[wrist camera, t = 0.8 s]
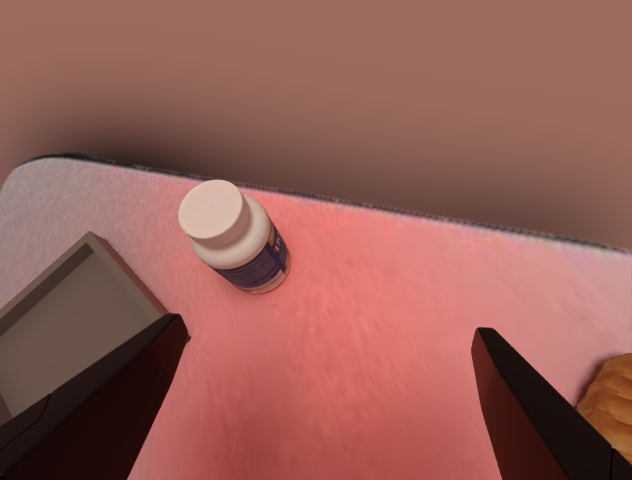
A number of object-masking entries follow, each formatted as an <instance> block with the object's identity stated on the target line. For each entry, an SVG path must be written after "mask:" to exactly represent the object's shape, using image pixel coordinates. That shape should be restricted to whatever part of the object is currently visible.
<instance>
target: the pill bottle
mask: <svg viewBox="0 0 632 480" xmlns="http://www.w3.org/2000/svg"><path fill="white" fill-rule="evenodd" d="M178 219H179V223H180V226H181V228H182V229H183V230H184V232H185V233H186V234H187V235H188V236H190V241H191V245H192V248H193V250H194V252H195V253H196V255H197V256H198V257H199V258H200V259H201V260H202V261H203V262H204V263H205V264H207V265H208V266H209V267H211V268H212V269H214V270H215V271H216V272H217V273H219V274H220V275H222V276H223V277H224V278H226V279H227V280H228V281H230V282H231V283H232V284H233V285H235V286H236V287H238V288H239V289H241V290H243V291H244V292H247V293H251V294H261V293H265V292H268V291H270V290H272V289H274V288H276V287H277V286H278V285H279V284H280V283H281V282H282V281H283V280H284V279H285V277H286V276H287V274H288V272H289V268H290V253H289V250H288V248H287V246H286V244H285V242H284V241H283V239H282V237H281V236H280V234H279V232H278V230H277V229H276V227H275V225H274V224H273V222H272V221H271V219H270V217H269V216H268V214H267V212H266V210H265V209H264V208H263V206H262V205H261V204H260V203H259V202H258V201H257V200H255V199H254V198H252V197H250V196H248V195H244V194H242V193H241V192H240V191H239V189H238V188H237V187H236V186H235V185H233V184H232V183H230V182H227V181H224V180H211V181H207V182H204V183H201V184H199V185H198V186H196V187H195V188H193V189H192V190H191V191H190V192H189V193H188V194H187V195H186V196H185V197H184V199H183V201H182V202H181V205H180V207H179V212H178Z"/></svg>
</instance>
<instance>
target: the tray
mask: <svg viewBox="0 0 632 480" xmlns="http://www.w3.org/2000/svg"><path fill="white" fill-rule="evenodd" d="M167 313H169V312H168V311H167V310H166V308H165V307H164V306H163V305H162V304H161V303H160V302H159V300H158V299H157V298H156V297H155V296H154V295H153V294H152V292H151V291H150V290H149V289H148V288H147V287H146V286H145V284H144V283H143V282H142V281H141V280H140V279H139V278H138V276H137V275H136V274H135V273H134V272H133V271H132V270H131V268H130V267H129V266H128V265H127V264H126V263H125V262H124V260H123V259H122V258H121V257H120V256H119V255H118V254H117V252H116V251H115V250H114V249H113V248H112V247H111V246H110V244H109V243H108V242H107V241H106V240H105V239H103V238H101V237H99V236H98V235H96V234H94V233H92V232H90V231H89V232H88V233H86V234H85V235H84V236H83V237H82V238H81V239H80V240H78V241H77V242H76V243H75V244H74V245H73V246H72V247H71V248H69V249H68V250H67V251H66V252H65V253H64V254H63V255H62V256H60V257H59V258H58V259H57V260H56V261H55V262H54V263H52V264H51V265H50V266H49V267H48V268H47V269H46V270H45V271H43V272H42V273H41V274H40V275H39V276H38V277H37V278H36V279H34V280H33V281H32V282H31V283H30V284H29V285H28V286H26V287H25V288H24V289H23V290H22V291H21V292H20V293H19V294H17V295H16V296H15V297H14V298H13V299H12V300H11V301H10V302H8V303H7V304H6V305H5V306H4V307H3V308H2V309H0V426H1V425H2V424H4V423H5V422H7V421H9V420H10V419H12V418H13V417H15V416H16V415H18V414H19V413H21V412H22V411H24V410H25V409H27V408H28V407H30V406H31V405H33V404H35V403H36V402H37V401H39V400H40V399H42V398H43V397H45V396H46V395H48V394H49V393H52V392H53V391H54V390H55V389H57V388H58V387H60V386H61V385H62V384H64V383H65V382H67V381H68V380H70V379H71V378H73V377H74V376H76V375H77V374H79V373H80V372H81V371H83V370H84V369H86V368H87V367H89V366H90V365H92V364H93V363H95V362H96V361H98V360H99V359H101V358H102V357H103V356H105V355H106V354H108V353H109V352H111V351H112V350H114V349H115V348H117V347H118V346H120V345H121V344H123V343H124V342H125V341H127V340H128V339H130V338H131V337H133V336H134V335H136V334H137V333H139V332H140V331H142V330H143V329H144V328H146V327H147V326H149V325H150V324H152V323H153V322H155V321H156V320H158V319H159V318H161V317H162V316H163V315H165V314H167ZM190 339H191V337H190V336H189V335H188V338H187V341H186V343H187V342H188V341H189V340H190Z"/></svg>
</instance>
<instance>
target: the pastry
mask: <svg viewBox="0 0 632 480" xmlns="http://www.w3.org/2000/svg"><path fill="white" fill-rule="evenodd" d="M576 410H577V411H578V412H579V413H580V414H581V415H582V416H583V417H584V418H585V419H586V420H587V421H588V422H589V423H590V424H591V425H592V426H593V427H594V428H595V429H596V430H597V431H598V432H599V433H600V434H601V435H602V436H603V437H604V438H605V439H606V440H607V441H608V442H609V443H610V444H611V445H612V448H615V449H616V450H617V451H619V452H620V453H621V454H622V455H623V456H624V457H625V458H626V459H627V460H628V461H629V462H630V463H631V464H632V353H628V354H625V355H622V356H619V357H616V358H613V359H610V360H607V361H606V362H605V363H604V364H603V367H602V369H601V371H600V372H599V373H598V374H597V377H596V380H595V381H594V382H593V383H591V384H590V385H589V388H588V391H587V393H586V395H585V397H584V398H583V399H582V401H581V402H579V403H578V404H577V408H576Z"/></svg>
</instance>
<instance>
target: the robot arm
mask: <svg viewBox="0 0 632 480" xmlns="http://www.w3.org/2000/svg"><path fill="white" fill-rule="evenodd" d="M187 338H188V330H187V328H186V325H185V323H184V321H183V319H182V316H181V315H180V314H176V313H167V314H165V315H163V316H162V317H161V318H159V319H158V320H156V321H155V322H153V323H152V324H150V325H149V326H147V327H146V328H144V329H143V330H142V331H140V332H139V333H137V334H136V335H134V336H133V337H131V338H130V339H128V340H127V341H125V342H124V343H123V344H121V345H120V346H118V347H117V348H115V349H114V350H112V351H111V352H109V353H108V354H106V355H105V356H103V357H102V358H101V359H99V360H98V361H96V362H95V363H93V364H92V365H90V366H89V367H87V368H86V369H84V370H83V371H81V372H80V373H79V374H77V375H76V376H74V377H73V378H71V379H70V380H68V381H67V382H65V383H64V384H62V385H61V386H60V387H58V388H57V389H55V390H54V391H53V392H52V393H49V394H48V395H46V396H45V397H43V398H42V399H40V400H39V401H37V402H36V403H35V404H33V405H31V406H30V407H28V408H27V409H25V410H24V411H22V412H21V413H19V414H18V415H16V416H15V417H13V418H12V419H10V420H9V421H7V422H5V423H4V424H2V425H1V426H0V480H127V479H128V476H129V474H130V472H131V470H132V468H133V466H134V463H135V461H136V459H137V457H138V455H139V453H140V451H141V448H142V446H143V444H144V442H145V440H146V438H147V435H148V433H149V431H150V429H151V427H152V425H153V422H154V420H155V418H156V416H157V414H158V412H159V409H160V407H161V405H162V403H163V401H164V399H165V397H166V394H167V392H168V390H169V388H170V385H171V383H172V381H173V378H174V375H175V373H176V370H177V367H178V364H179V361H180V358H181V355H182V353H183V350H184V347H185V344H186V341H187ZM471 354H472V360H473V366H474V371H475V377H476V382H477V388H478V393H479V399H480V404H481V409H482V413H483V416H484V420H485V423H486V427H487V430H488V433H489V437H490V440H491V443H492V447H493V450H494V453H495V457H496V460H497V463H498V467H499V470H500V474H501V477H502V480H632V464H631V463H630V462H629V461H628V460H627V459H626V458H625V457H624V456H623V455H622V454H621V453H620V452H619V451H617V450H616V449H615V448H612V445H611V444H610V443H609V442H608V441H607V440H606V439H605V438H604V437H603V436H602V435H601V434H600V433H599V432H598V431H597V430H596V429H595V428H594V427H593V426H592V425H591V424H590V423H589V422H588V421H587V420H586V419H585V418H584V417H583V416H582V415H581V414H580V413H579V412H578V411H577V410H576V409H575V408H574V407H573V406H572V405H571V404H570V403H569V402H568V401H567V400H566V399H565V398H564V397H563V396H562V395H561V394H560V393H559V392H558V391H557V390H556V389H555V388H554V387H553V386H551V385H550V384H549V383H548V382H547V381H546V380H545V379H544V378H543V377H542V376H541V375H540V374H539V373H538V372H537V371H536V370H535V369H534V368H533V367H532V366H531V365H530V364H529V363H528V362H527V361H526V360H525V359H524V358H523V357H522V356H521V355H520V354H519V353H518V352H517V351H516V350H515V349H514V348H513V347H512V346H511V345H510V344H509V343H508V342H507V341H506V340H505V339H504V338H503V337H502V336H501V335H500V334H499V333H498V332H497V331H496V330H495V329H493V328H486V327H478V328H477V329H476V331H475V334H474V338H473V342H472V347H471Z"/></svg>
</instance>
